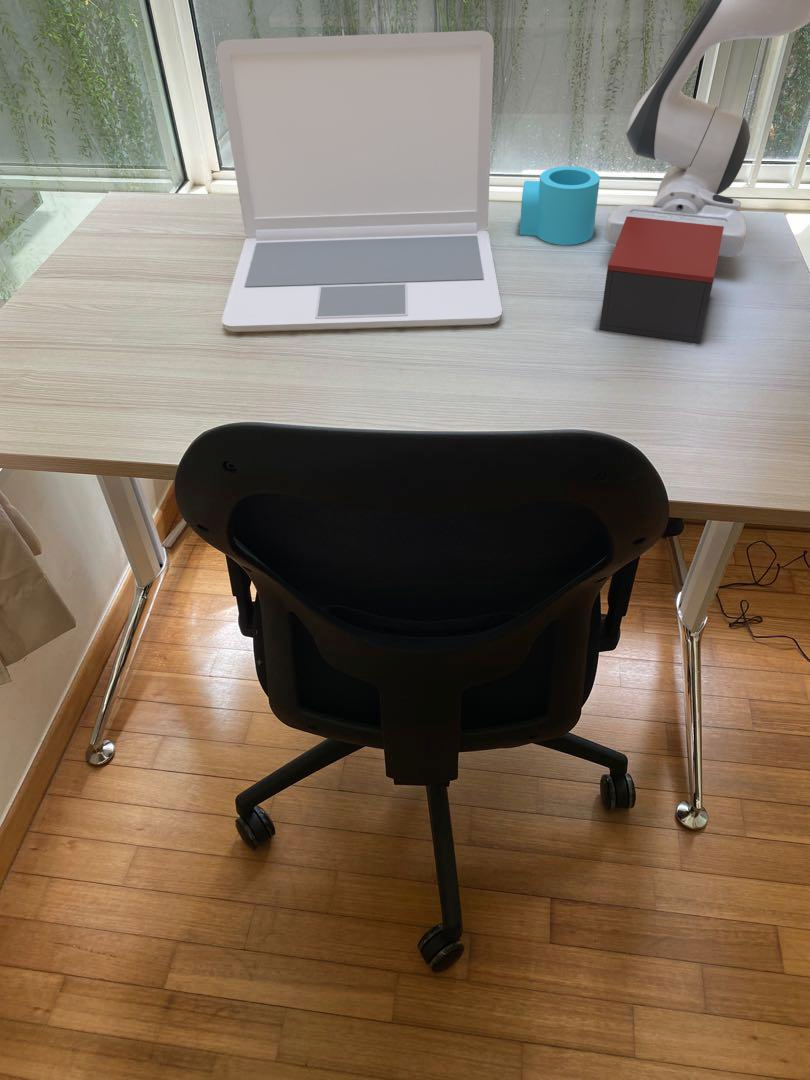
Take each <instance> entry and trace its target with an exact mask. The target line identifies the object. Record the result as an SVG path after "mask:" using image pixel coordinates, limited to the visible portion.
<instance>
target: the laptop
mask: <svg viewBox="0 0 810 1080" xmlns="http://www.w3.org/2000/svg"><path fill="white" fill-rule="evenodd" d="M493 37H494V36H492V34H490V33H489V31H486V30H485V31H484V30H460V31H459V30H458V31H457V30H456V31H431V32H430V31H429V32H407V33H403V32H401V33H376V34H373V33H372V34H352V35H350V34H349V35H324V36H323V35H321V36H294V37H293V36H292V37H272V38H271V37H267V38H242V39H241V38H240V39H239V38H238V39H225V40H223V41H220V42H219V44H218V45H217V46H216V60H217V66H218V73H219V79H220V86H221V94H222V98H223V99H222V100H223V104H224V110H225V116H226V117H225V118H226V123H227V130H228V137H229V142H230V149H231V155H232V161H233V166H234V167H233V168H234V174H235V179H236V186H237V191H238V192H237V193H238V197H239V198H238V199H239V203H240V210H241V216H242V222H243V223H242V224H243V229H244V235H245V236H246V237H249V238H245V239H244V243H243V246H242V249H241V253H240V256H239V259H238V263H237V266H236V270H235V273H234V277H233V280H232V283H231V286H230V290H229V293H228V296H227V299H226V303H225V307H224V310H223V314H222V316H221V324H222V327H223V328H224V329H225V330H227V331H228V332H231V333H257V332H258V333H259V332H291V331H320V330H321V331H323V330H326V331H327V330H349V329H350V330H351V329H352V330H353V329H384V328H385V329H386V328H387V329H388V328H390V329H391V328H418V327H420V328H421V327H422V328H423V327H448V326H449V327H453V326H454V327H455V326H481V325H482V326H483V325H484V326H485V325H487V326H488V325H493V324H496V323H497V322H499V321H500V320H501V316H502V313H503V306H502V301H501V296H500V292H499V286H498V280H497V274H496V269H495V264H494V258H493V252H492V246H491V241H490V235H489V231H487V230H486V229H487V228H488V227H489V226H488V225H489V207H490V206H489V205H490V179H491V177H490V175H491V149H492V148H491V145H492V118H493V117H492V116H493V91H494V89H493V87H494V86H493V85H494V61H495V60H494V59H495V57H494V56H495V42H494V38H493ZM484 229H485V230H484Z"/></svg>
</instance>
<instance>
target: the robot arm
mask: <svg viewBox="0 0 810 1080" xmlns="http://www.w3.org/2000/svg"><path fill="white" fill-rule="evenodd" d="M809 23H810V0H704V2H703V3H702V5H701V7H700V9H699V10H698V12H697V13H696V15H695V16H694V17H693V19H692V20H691V22H690V24H689V25H688V27H687V28H686V30H685V32H684V33H683V35H682V36H681V38H680V39H679V41H678V42H677V44H676V46H675V48H674V49H673V51H672V52H671V54H670V56H669V58H667V61H666V62H665V63H664V65H663V67H662V68H661V70H660V72H659V74H658V75H657V77H656V79H655V80H654V81H653V83H652V84H651V86H650V87H649V89H648V90H647V91H646V92H645V93H644V94H643V96H642V97H641V98H640V99H639V100H638V102H637V104H636V105H635V107H634V108H633V110H632V112H631V114H630V117H629V119H628V122H627V127H626V133H625V135H626V138H627V140H628V143H629V145H630V147H631V149H632V151H633V152H634V154H635V155H636V156H639V157H643V158H646V159H650V160H654V161H659V162H663V163H665V164H667V165H670V168H669V169H668V170H667V171H666V173H665V175H664V176H663V178H662V179H661V181H660V184H659V186H658V189H657V192H656V196H655V197H654V201H653V203H652V206H647V205H637V204H621V205H618V206H616V208H615V209H614V208H613V209H612V210H611V211H610V213H609V214H608V215H609V216H608V218H607V220H606V225H605V232H604V240H605V241H606V242H607V243H609V244H612V245H616V243H617V240H618V238H619V235H620V233H621V230H622V227H623V225H624V222H625V220H626V217H627V216H629V217H638V218H648V219H657V220H667V221H676V222H686V223H695V224H705V225H714V226H723V227H724V229H723V234H722V240H721V245H720V250H719V255H718V257H719V256H720V257H728V258H737V257H739V256H741V255H742V252H743V249H744V245H745V240H746V236H747V222H746V218H745V215H744V214H743V213H742V212H741V209H742V208H741V206H742V202H741V201H740V200H738V199H735V198H731V197H728V196H725V195H720V194H722V193H723V192H724V191H726V190H728V189H729V188H730V187H731V186H732V185H733V183H734V181H735V180H736V178H737V177H738V175H739V172H740V170H741V169H742V166H743V164H744V161H745V160H746V156H747V152H748V149H749V145H750V141H751V133H750V132H751V131H750V127H749V122H748V121H747V119H746V117H745V116H743V115H742V114H741V115H740V114H738V113H736V112H733V111H731V110H729V109H725V108H723V107H720V106H718V105H716V106H715V105H712V104H710V103H708V102H704V101H702V100H699V99H698V98H697V99H696V98H694V97H691V96H688V95H686V94H685V93H683V91H682V89H683V88H684V86H685V84H686V83H687V81H688V80H689V78H690V77H691V75H692V73H693V72H694V70H695V69H696V67H697V66H698V64H699V63H700V61H701V60H702V58H703V57H704V56H705V54H706V53H707V52H708V51H709V50H710V49H711V48H713V47H714V46H716V45H719V44H721V43H725V42H729V41H734V40H745V39H772V38H777V37H782V36H785V35H788V34H791V33H793V32H796V31H798V30H800V29H801V28H803V27H805V26H807V24H809Z"/></svg>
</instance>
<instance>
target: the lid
mask: <svg viewBox="0 0 810 1080" xmlns="http://www.w3.org/2000/svg"><path fill="white" fill-rule="evenodd" d="M723 229H724V227H723V226H714V225H705V224H695V223H686V222H676V221H667V220H657V219H648V218H638V217H629V216H627V217H626V220H625V222H624V225H623V227H622V230H621V233H620V235H619V238H618V240H617V243H616V244H614V245H615V246H614V248H613V251H612V253H611V256H610V258H609V261H608V264H607V268H606V271H607V270H612V271H620V272H628V273H636V274H645V275H653V276H661V277H669V278H677V279H685V280H694V281H702V282H710V283H713V284H714V280H715V275H716V270H717V265H718V261H719V256H718V255H719V250H720V245H721V240H722V234H723Z"/></svg>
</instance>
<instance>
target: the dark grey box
mask: <svg viewBox="0 0 810 1080" xmlns="http://www.w3.org/2000/svg"><path fill="white" fill-rule="evenodd" d="M605 275H606V277H605V284H604V290H603V299H602V307H601V314H600V321H599V327H598V329H599V330H601V331H609V332H617V333H623V334H630V335H638V336H644V337H651V338H659V339H665V340H672V341H680V342H688V343H695V344H700V342H701V337H702V333H703V329H704V325H705V324H704V323H705V320H706V316H707V311H708V308H709V307H708V306H709V303H710V302H709V301H710V298H711V292H712V289H713V285H714V282H713V283H710V282H702V281H694V280H685V279H677V278H669V277H661V276H653V275H645V274H636V273H628V272H620V271H612V270H607V269H606V274H605Z"/></svg>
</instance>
